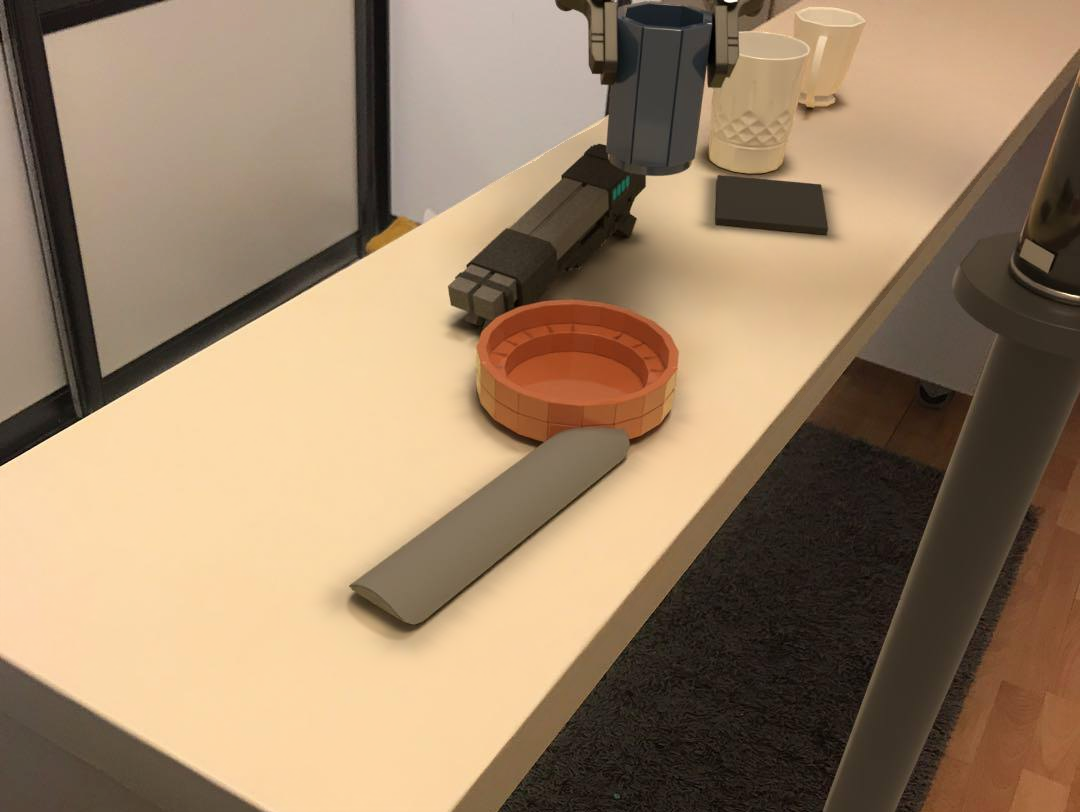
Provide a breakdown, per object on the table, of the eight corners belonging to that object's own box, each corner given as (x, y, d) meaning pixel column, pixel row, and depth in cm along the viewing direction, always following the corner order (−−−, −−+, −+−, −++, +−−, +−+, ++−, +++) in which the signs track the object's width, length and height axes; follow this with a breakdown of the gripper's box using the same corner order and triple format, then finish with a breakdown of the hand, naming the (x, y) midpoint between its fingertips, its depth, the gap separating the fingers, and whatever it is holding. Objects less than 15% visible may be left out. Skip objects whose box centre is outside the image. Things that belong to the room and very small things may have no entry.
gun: (654, 228, 85) (646, 120, 76) (521, 405, 77) (496, 306, 69) (605, 213, 86) (592, 106, 78) (470, 384, 79) (440, 286, 70)
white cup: (695, 169, 95) (711, 52, 89) (708, 139, 101) (724, 26, 95) (783, 182, 94) (806, 64, 88) (792, 150, 100) (814, 37, 93)
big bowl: (675, 357, 71) (682, 310, 69) (666, 465, 62) (674, 415, 60) (495, 338, 72) (495, 291, 70) (460, 442, 63) (460, 392, 61)
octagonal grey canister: (694, 146, 65) (712, 5, 60) (692, 180, 61) (712, 32, 56) (609, 139, 66) (620, -2, 60) (602, 172, 62) (613, 25, 56)
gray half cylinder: (342, 597, 52) (339, 570, 51) (576, 424, 64) (577, 399, 63) (405, 637, 51) (404, 610, 49) (634, 451, 62) (637, 426, 61)
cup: (850, 93, 113) (869, 11, 107) (840, 125, 106) (860, 38, 100) (784, 84, 114) (799, 2, 109) (770, 114, 107) (785, 28, 102)
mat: (819, 190, 93) (821, 184, 93) (826, 235, 86) (828, 228, 86) (716, 181, 94) (717, 174, 93) (715, 224, 87) (716, 217, 87)
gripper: (535, -273, 56) (537, 40, 54) (806, -262, 56) (813, 47, 55) (528, -169, 63) (530, 109, 62) (767, -160, 64) (773, 114, 63)
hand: (664, 78), depth 59 cm, fingers closed on octagonal grey canister, 5 cm apart
